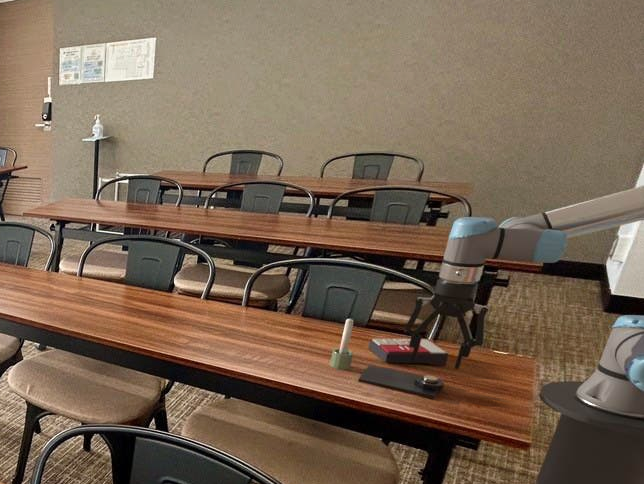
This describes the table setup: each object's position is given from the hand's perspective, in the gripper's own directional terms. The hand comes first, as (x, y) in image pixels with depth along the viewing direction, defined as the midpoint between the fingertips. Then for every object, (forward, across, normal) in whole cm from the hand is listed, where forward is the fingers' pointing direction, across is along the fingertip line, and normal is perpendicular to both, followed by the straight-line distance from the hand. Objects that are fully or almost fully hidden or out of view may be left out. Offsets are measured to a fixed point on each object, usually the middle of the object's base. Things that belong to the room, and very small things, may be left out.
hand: (434, 363), depth 151 cm
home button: (+6, 0, 0) cm, 6 cm away
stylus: (+7, -20, +2) cm, 21 cm away
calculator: (+8, -8, +21) cm, 24 cm away
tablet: (+8, -6, 0) cm, 10 cm away
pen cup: (+8, -20, +2) cm, 22 cm away
